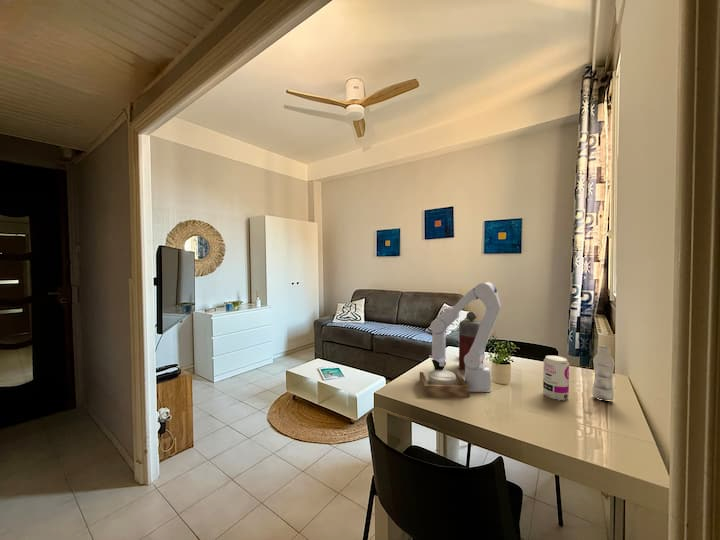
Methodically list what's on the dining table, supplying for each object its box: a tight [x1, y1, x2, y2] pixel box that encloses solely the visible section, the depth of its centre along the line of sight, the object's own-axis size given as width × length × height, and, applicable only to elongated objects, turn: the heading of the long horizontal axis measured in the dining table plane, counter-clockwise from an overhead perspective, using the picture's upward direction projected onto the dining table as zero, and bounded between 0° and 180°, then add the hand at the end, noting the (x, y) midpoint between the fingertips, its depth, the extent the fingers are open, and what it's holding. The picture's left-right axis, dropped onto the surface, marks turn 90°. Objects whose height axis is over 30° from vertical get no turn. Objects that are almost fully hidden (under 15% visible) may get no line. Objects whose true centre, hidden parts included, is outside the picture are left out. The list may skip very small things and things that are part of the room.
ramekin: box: [428, 369, 456, 385], centre depth 125 cm, size 11×11×5 cm
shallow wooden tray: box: [419, 371, 470, 398], centre depth 124 cm, size 17×14×4 cm
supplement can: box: [542, 355, 570, 401], centre depth 116 cm, size 8×8×15 cm
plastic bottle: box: [591, 345, 616, 401], centre depth 113 cm, size 6×7×20 cm
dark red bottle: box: [458, 310, 484, 372], centre depth 146 cm, size 9×11×28 cm
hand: (438, 376), depth 132 cm, fingers closed
